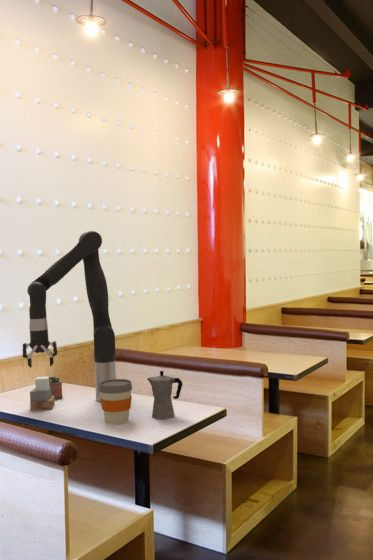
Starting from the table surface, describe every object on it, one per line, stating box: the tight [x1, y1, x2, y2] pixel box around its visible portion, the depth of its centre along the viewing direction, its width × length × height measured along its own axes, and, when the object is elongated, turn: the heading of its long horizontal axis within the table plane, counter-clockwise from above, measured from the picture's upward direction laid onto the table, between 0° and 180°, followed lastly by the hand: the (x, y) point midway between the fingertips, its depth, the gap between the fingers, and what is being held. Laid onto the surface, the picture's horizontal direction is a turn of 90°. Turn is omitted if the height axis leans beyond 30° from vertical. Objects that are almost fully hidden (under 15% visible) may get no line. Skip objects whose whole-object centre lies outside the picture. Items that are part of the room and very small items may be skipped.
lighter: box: [49, 375, 64, 400], centre depth 255 cm, size 8×3×10 cm, turn 84°
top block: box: [34, 376, 50, 391], centre depth 240 cm, size 5×5×5 cm
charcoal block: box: [29, 387, 52, 401], centre depth 240 cm, size 7×7×4 cm
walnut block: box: [29, 396, 56, 411], centre depth 241 cm, size 9×9×4 cm
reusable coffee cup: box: [99, 378, 133, 425], centre depth 216 cm, size 13×13×15 cm
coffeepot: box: [146, 370, 183, 420], centre depth 220 cm, size 15×9×18 cm, turn 66°
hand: (40, 366), depth 240 cm, fingers open, 8 cm apart
